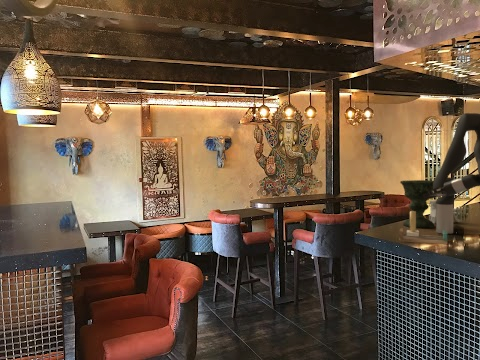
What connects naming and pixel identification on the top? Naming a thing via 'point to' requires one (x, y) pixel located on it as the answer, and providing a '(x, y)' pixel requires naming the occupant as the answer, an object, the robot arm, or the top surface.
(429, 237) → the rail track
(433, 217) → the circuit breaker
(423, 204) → the goblet
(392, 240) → the top surface
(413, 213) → the carriage
